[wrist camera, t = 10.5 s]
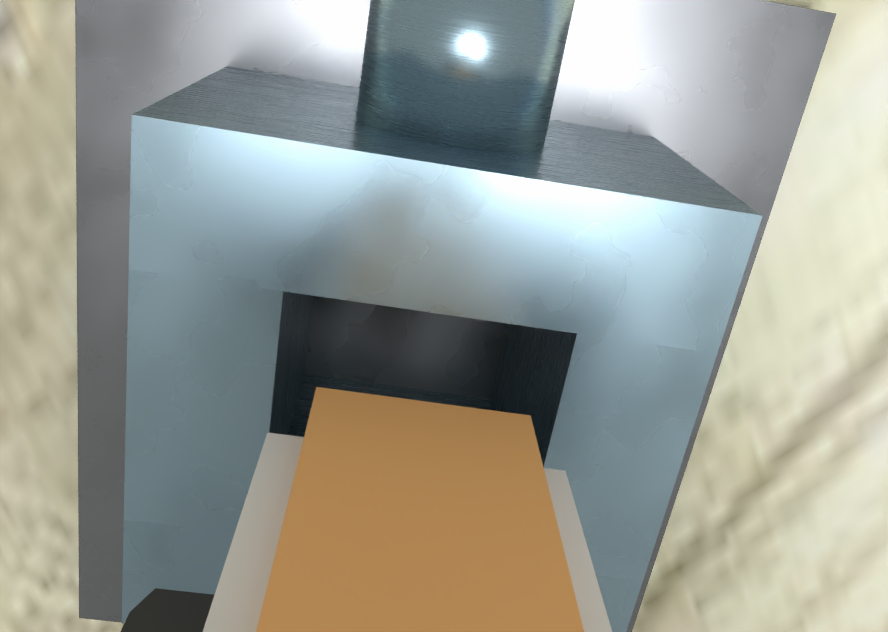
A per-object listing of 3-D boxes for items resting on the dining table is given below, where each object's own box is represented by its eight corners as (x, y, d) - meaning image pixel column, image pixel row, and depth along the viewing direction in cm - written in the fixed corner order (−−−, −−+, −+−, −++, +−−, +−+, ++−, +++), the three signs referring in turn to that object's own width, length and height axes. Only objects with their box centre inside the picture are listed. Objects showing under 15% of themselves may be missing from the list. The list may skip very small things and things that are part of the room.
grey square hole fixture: (594, 691, 34) (737, 1287, 18) (94, 639, 32) (-203, 1252, 17) (811, 11, 23) (1527, 90, 8) (96, -122, 22) (-656, -327, 7)
